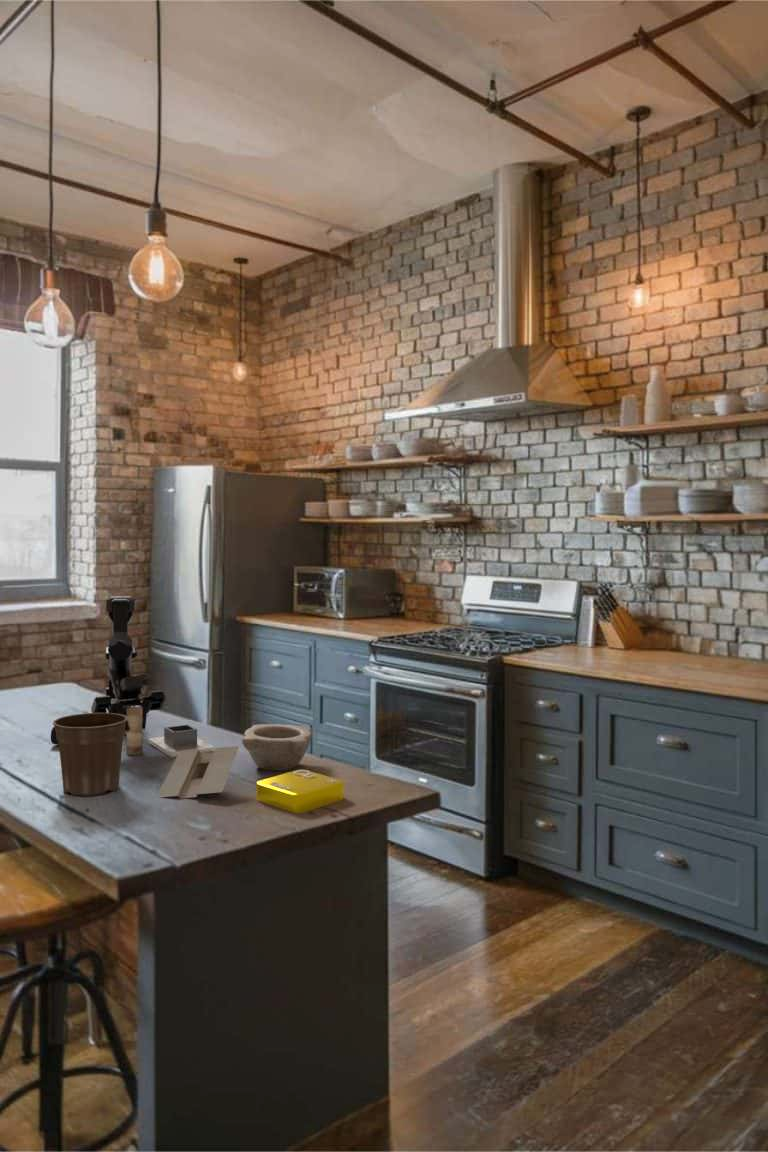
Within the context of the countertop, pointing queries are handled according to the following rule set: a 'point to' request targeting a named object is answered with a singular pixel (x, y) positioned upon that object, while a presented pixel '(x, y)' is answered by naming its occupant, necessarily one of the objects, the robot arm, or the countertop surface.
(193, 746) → the post socket base
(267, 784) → the element tile
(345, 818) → the countertop surface
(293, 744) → the mortar
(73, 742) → the plant pot
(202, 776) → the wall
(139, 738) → the rail post
